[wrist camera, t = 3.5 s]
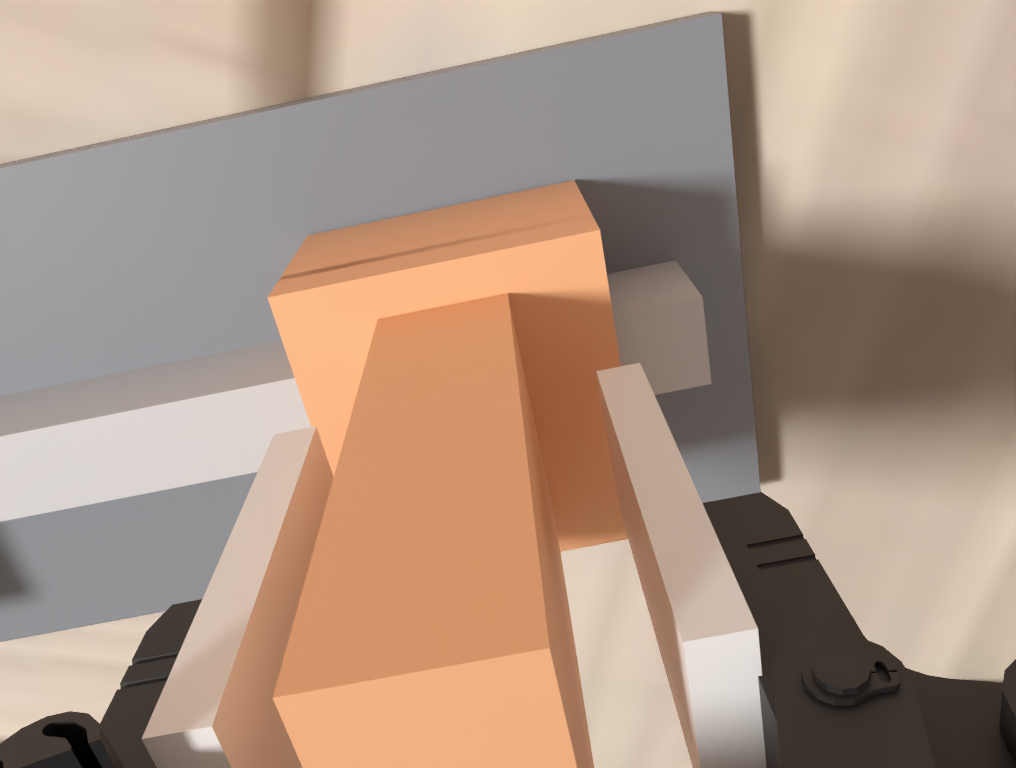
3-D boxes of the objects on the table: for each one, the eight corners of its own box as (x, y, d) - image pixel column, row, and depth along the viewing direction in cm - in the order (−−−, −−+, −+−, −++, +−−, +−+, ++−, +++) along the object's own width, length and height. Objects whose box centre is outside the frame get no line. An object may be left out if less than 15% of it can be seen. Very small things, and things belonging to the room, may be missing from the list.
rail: (-112, 641, 25) (-227, 772, 20) (-377, 245, 19) (-601, 315, 15) (750, 479, 23) (809, 585, 19) (708, 11, 18) (777, 19, 14)
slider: (384, 484, 22) (279, 1090, 10) (307, 235, 19) (30, 665, 7) (616, 438, 21) (797, 1008, 10) (574, 180, 19) (757, 531, 7)
